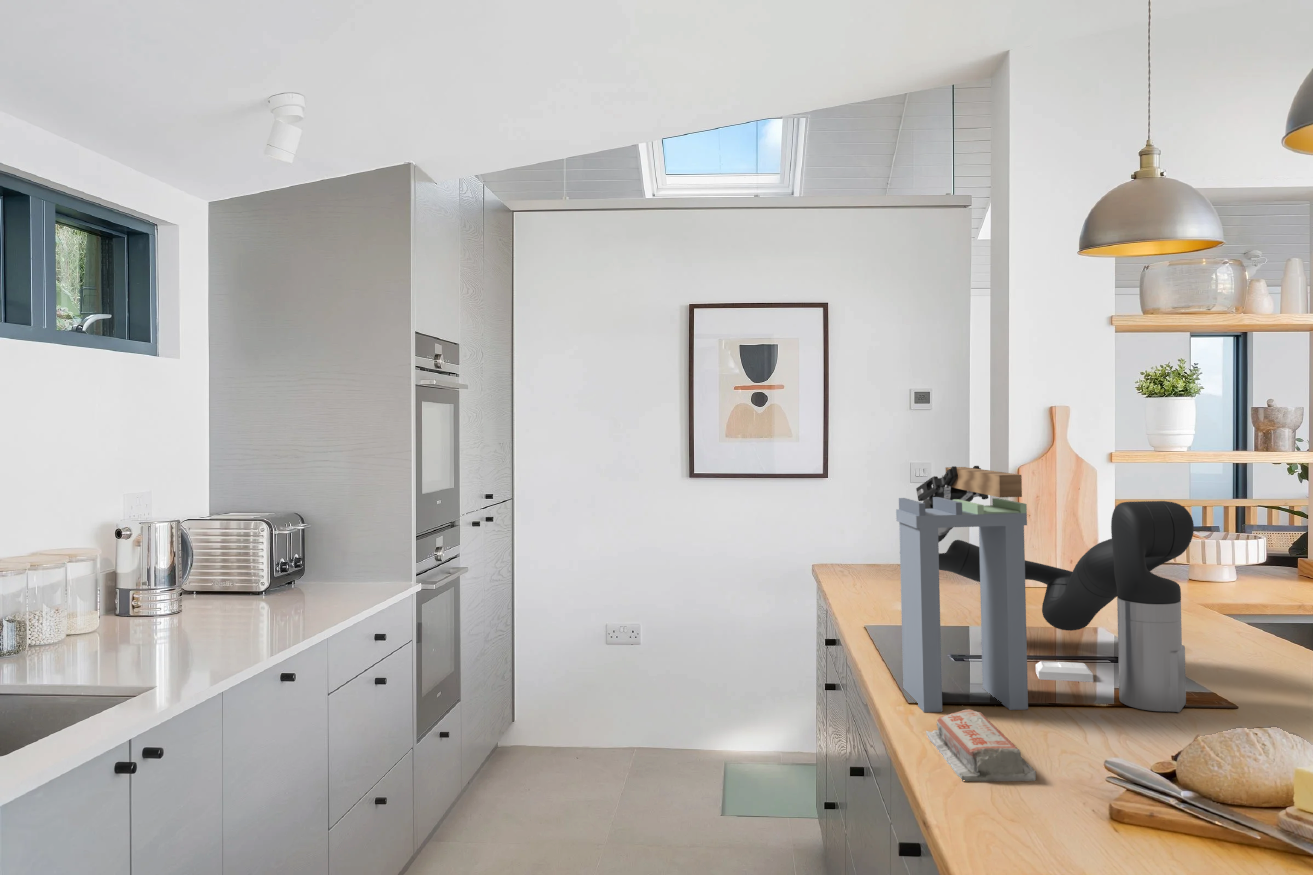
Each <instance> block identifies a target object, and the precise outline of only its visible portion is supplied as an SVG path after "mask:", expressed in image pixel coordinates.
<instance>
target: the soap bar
mask: <svg viewBox="0 0 1313 875" xmlns="http://www.w3.org/2000/svg"><path fill="white" fill-rule="evenodd" d="M1035 673H1036V676H1037V678H1038V679H1039V680H1045V681H1063V682H1064V681H1066V682H1083V683H1084V682H1085V683H1094V673H1093V671H1091V669H1090V667H1089V666H1088V665H1087V664H1086V663H1084V662H1067V661H1049V660H1048V661H1044V660H1041V661H1039V662H1037V663H1035Z"/></svg>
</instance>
